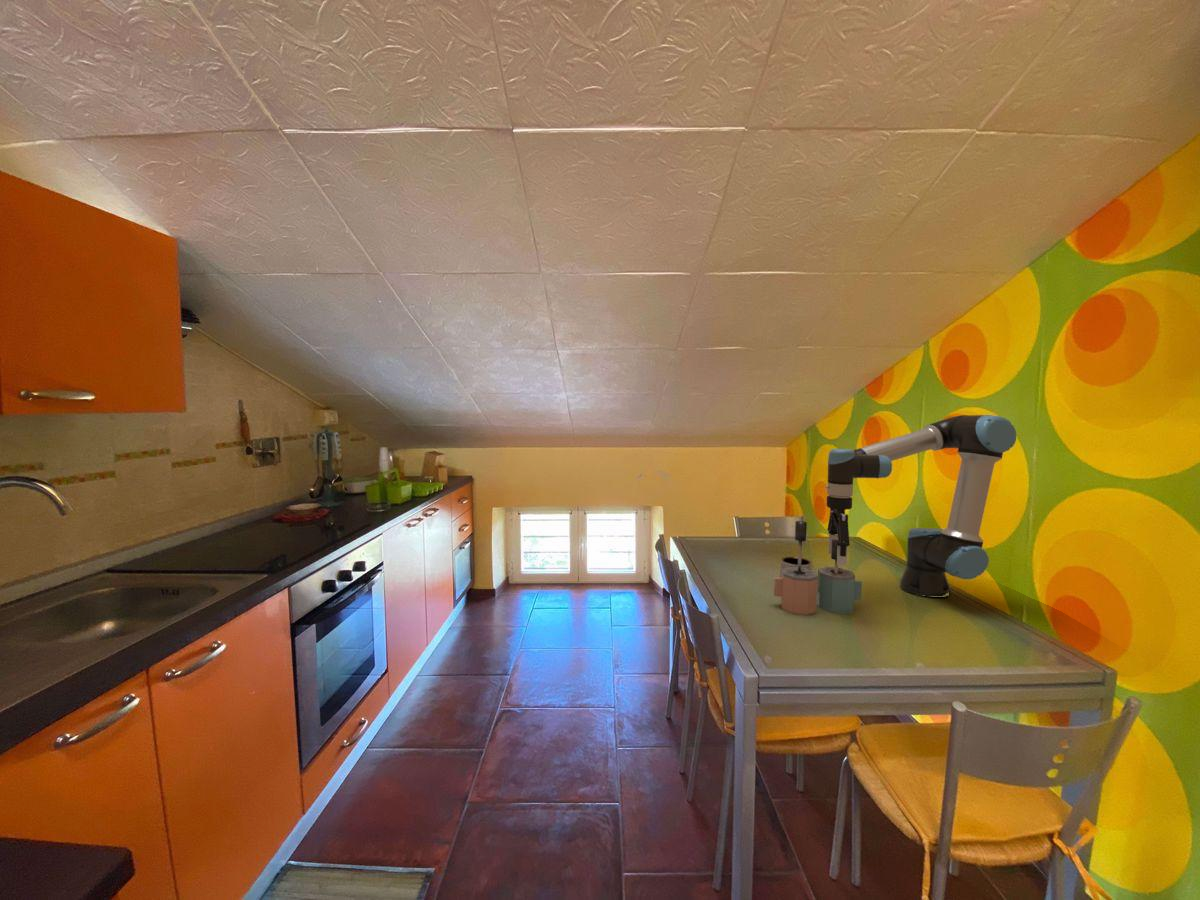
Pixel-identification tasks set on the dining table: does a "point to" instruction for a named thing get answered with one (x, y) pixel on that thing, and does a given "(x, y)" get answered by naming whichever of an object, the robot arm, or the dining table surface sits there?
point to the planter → (794, 563)
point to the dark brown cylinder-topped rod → (834, 554)
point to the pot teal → (837, 590)
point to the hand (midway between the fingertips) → (836, 559)
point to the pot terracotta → (797, 590)
